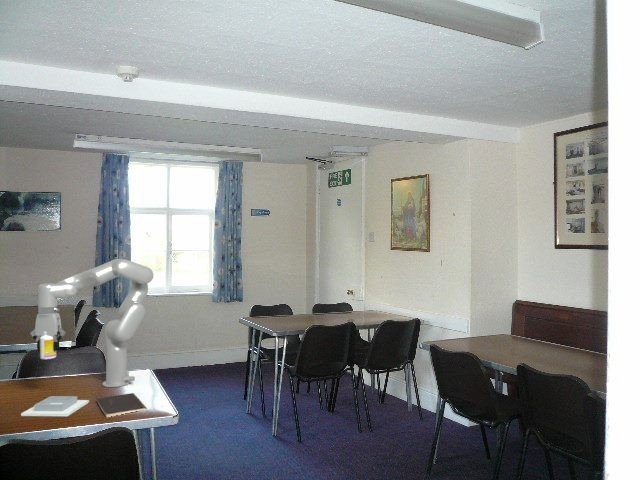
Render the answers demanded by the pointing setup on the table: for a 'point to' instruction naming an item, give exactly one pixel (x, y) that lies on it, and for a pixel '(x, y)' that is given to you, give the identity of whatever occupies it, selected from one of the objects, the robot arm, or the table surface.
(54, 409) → the holder board
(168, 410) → the table surface
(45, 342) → the supplement bottle
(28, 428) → the table surface
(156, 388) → the table surface
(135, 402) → the hardcover book
